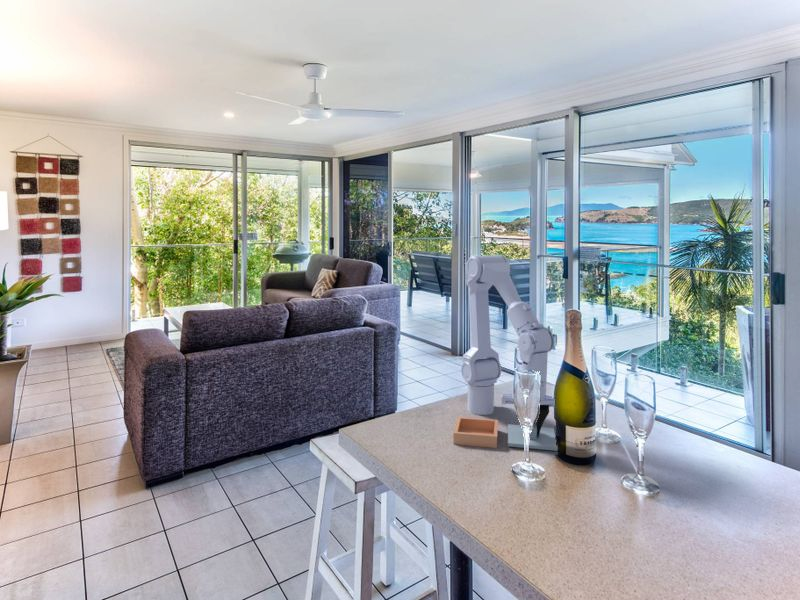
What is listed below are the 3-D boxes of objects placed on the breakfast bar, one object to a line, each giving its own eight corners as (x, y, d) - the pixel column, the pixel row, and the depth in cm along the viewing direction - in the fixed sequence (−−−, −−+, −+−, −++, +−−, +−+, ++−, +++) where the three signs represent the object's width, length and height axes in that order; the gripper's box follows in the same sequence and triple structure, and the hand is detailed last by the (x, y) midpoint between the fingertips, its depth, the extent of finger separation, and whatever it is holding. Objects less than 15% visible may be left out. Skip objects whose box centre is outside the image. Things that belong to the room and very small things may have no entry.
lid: (507, 427, 124) (508, 412, 123) (553, 431, 122) (554, 416, 121) (507, 446, 113) (508, 430, 113) (557, 450, 111) (558, 434, 110)
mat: (507, 430, 125) (508, 427, 125) (553, 433, 123) (553, 430, 123) (507, 453, 112) (507, 449, 112) (558, 457, 110) (558, 454, 110)
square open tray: (457, 429, 125) (457, 416, 125) (497, 433, 123) (498, 420, 123) (453, 447, 116) (453, 432, 115) (496, 451, 113) (497, 436, 113)
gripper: (501, 382, 113) (500, 438, 115) (568, 386, 110) (565, 444, 112) (502, 373, 120) (500, 426, 122) (564, 377, 117) (562, 431, 119)
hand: (531, 434), depth 117 cm, fingers closed on lid, 2 cm apart
